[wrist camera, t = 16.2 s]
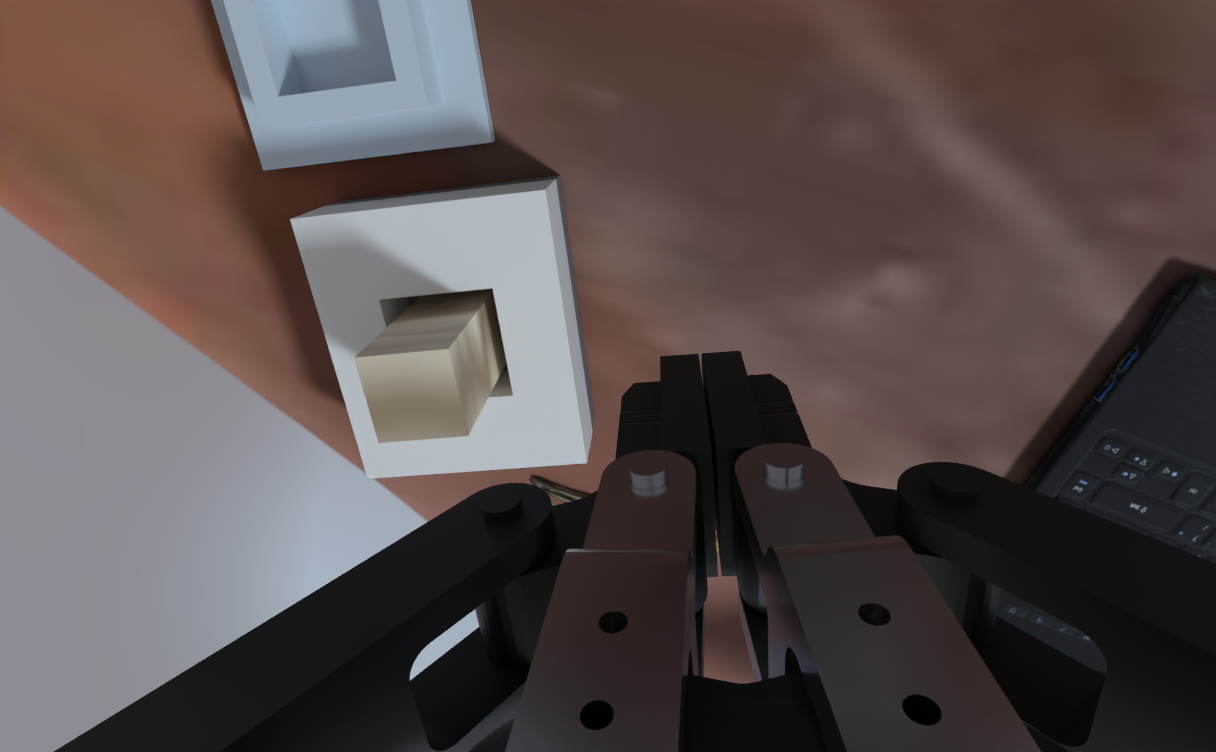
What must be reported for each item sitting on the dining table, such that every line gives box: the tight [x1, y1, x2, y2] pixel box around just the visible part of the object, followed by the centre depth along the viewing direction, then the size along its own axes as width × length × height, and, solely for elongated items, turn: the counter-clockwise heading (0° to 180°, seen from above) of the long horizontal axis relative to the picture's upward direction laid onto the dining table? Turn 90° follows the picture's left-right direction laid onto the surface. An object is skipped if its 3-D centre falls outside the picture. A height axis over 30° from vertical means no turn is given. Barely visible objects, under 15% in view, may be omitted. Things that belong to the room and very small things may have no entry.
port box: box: [290, 175, 595, 479], centre depth 36 cm, size 14×12×5 cm
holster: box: [211, 0, 495, 171], centre depth 31 cm, size 12×12×3 cm
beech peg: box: [354, 288, 507, 443], centre depth 33 cm, size 4×4×9 cm
